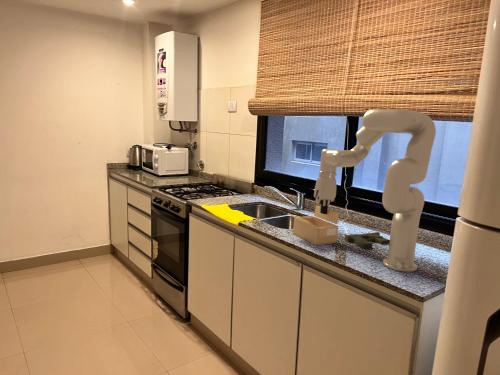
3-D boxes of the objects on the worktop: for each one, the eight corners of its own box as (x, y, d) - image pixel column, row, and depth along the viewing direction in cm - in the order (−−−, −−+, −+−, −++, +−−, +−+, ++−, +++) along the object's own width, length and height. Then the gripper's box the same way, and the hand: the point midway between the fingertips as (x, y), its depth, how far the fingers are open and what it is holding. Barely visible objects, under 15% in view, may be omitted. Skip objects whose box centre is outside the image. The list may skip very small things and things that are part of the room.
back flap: (336, 224, 169) (337, 224, 170) (338, 213, 169) (339, 213, 169) (314, 215, 184) (315, 215, 184) (316, 205, 183) (316, 205, 183)
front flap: (309, 221, 161) (308, 222, 161) (317, 225, 164) (316, 226, 164) (288, 213, 176) (287, 214, 176) (295, 217, 178) (295, 218, 178)
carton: (337, 243, 170) (339, 225, 168) (317, 245, 164) (318, 227, 163) (311, 231, 186) (313, 215, 185) (292, 233, 181) (293, 217, 179)
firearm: (400, 239, 174) (375, 230, 187) (365, 244, 162) (340, 234, 175) (399, 245, 175) (374, 236, 188) (364, 250, 163) (340, 240, 176)
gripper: (333, 174, 179) (330, 210, 182) (309, 174, 172) (306, 212, 175) (344, 176, 173) (340, 214, 176) (320, 177, 166) (316, 216, 169)
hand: (323, 213), depth 175 cm, fingers closed
